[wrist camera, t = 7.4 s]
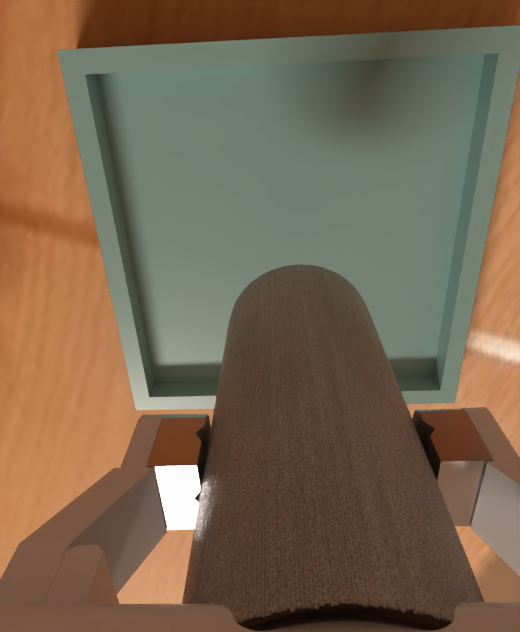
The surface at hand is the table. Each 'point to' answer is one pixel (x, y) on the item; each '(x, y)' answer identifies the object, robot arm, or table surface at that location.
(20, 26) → the table surface
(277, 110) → the tray
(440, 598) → the gray cylinder
